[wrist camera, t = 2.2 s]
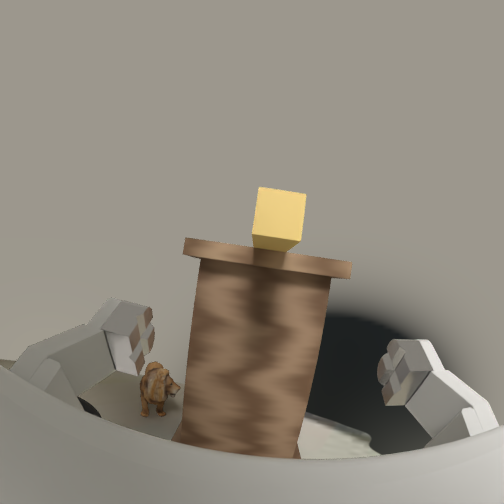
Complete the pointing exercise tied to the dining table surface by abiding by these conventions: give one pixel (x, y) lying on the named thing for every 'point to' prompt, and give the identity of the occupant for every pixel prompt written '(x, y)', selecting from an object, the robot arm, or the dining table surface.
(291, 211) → the mustard rod
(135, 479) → the robot arm
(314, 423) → the dining table surface
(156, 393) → the lion figurine
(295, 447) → the walnut pedestal
